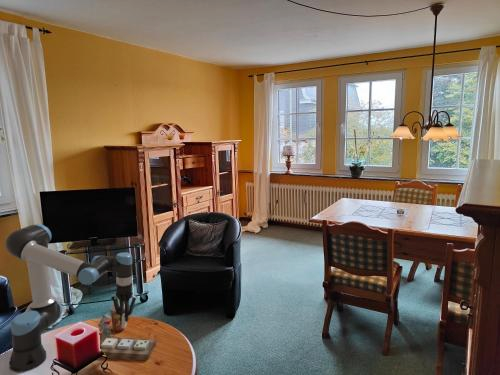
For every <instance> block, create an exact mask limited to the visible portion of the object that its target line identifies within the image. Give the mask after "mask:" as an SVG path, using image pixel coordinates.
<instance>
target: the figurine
mask: <svg viewBox="0 0 500 375" xmlns="http://www.w3.org/2000/svg"><path fill="white" fill-rule="evenodd" d="M111 323H112V317H111V314H109V310H108V311H106V313H105V314H102V316H101V318H100V321H99V323H98V324H97V326H98V328H99V331H101V339H100V340H101V341H102V340H103V339H104V337H115V336H114V334H112V333H111V331H112V325H111Z"/></svg>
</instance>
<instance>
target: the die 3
mask: <svg viewBox="0 0 500 375" xmlns="http://www.w3.org/2000/svg"><path fill="white" fill-rule="evenodd" d="M148 346H149V341H148V340H138V341H137V342H136V344H135V345H134V350H143V351H146V350H147V348H148Z"/></svg>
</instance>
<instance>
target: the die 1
mask: <svg viewBox="0 0 500 375" xmlns="http://www.w3.org/2000/svg"><path fill="white" fill-rule="evenodd" d="M117 343H118V339H112V338H106V339H105V341H104V342H103V343H102V344H101V348H109V349H113V348H114V347H115V346H116V344H117Z"/></svg>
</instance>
